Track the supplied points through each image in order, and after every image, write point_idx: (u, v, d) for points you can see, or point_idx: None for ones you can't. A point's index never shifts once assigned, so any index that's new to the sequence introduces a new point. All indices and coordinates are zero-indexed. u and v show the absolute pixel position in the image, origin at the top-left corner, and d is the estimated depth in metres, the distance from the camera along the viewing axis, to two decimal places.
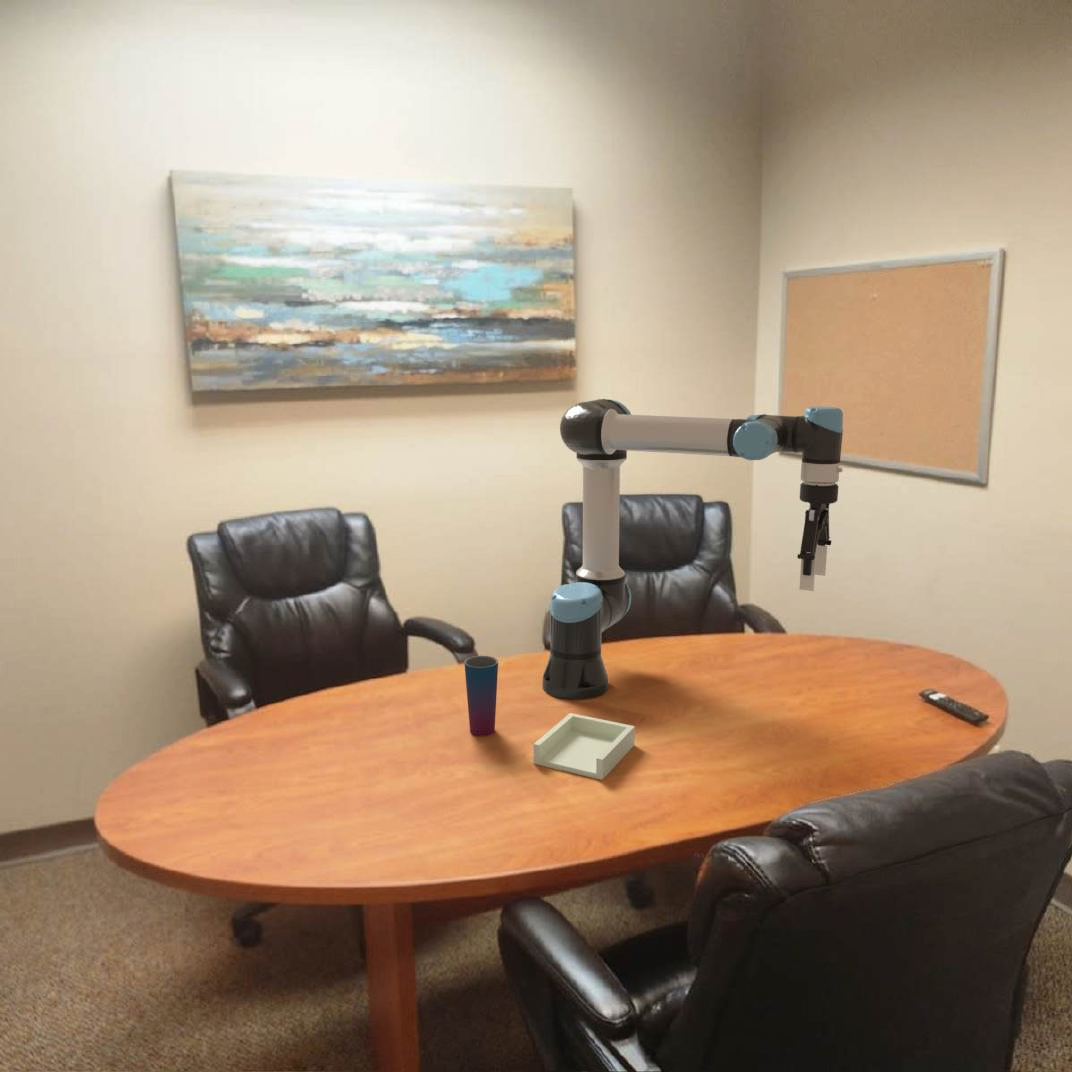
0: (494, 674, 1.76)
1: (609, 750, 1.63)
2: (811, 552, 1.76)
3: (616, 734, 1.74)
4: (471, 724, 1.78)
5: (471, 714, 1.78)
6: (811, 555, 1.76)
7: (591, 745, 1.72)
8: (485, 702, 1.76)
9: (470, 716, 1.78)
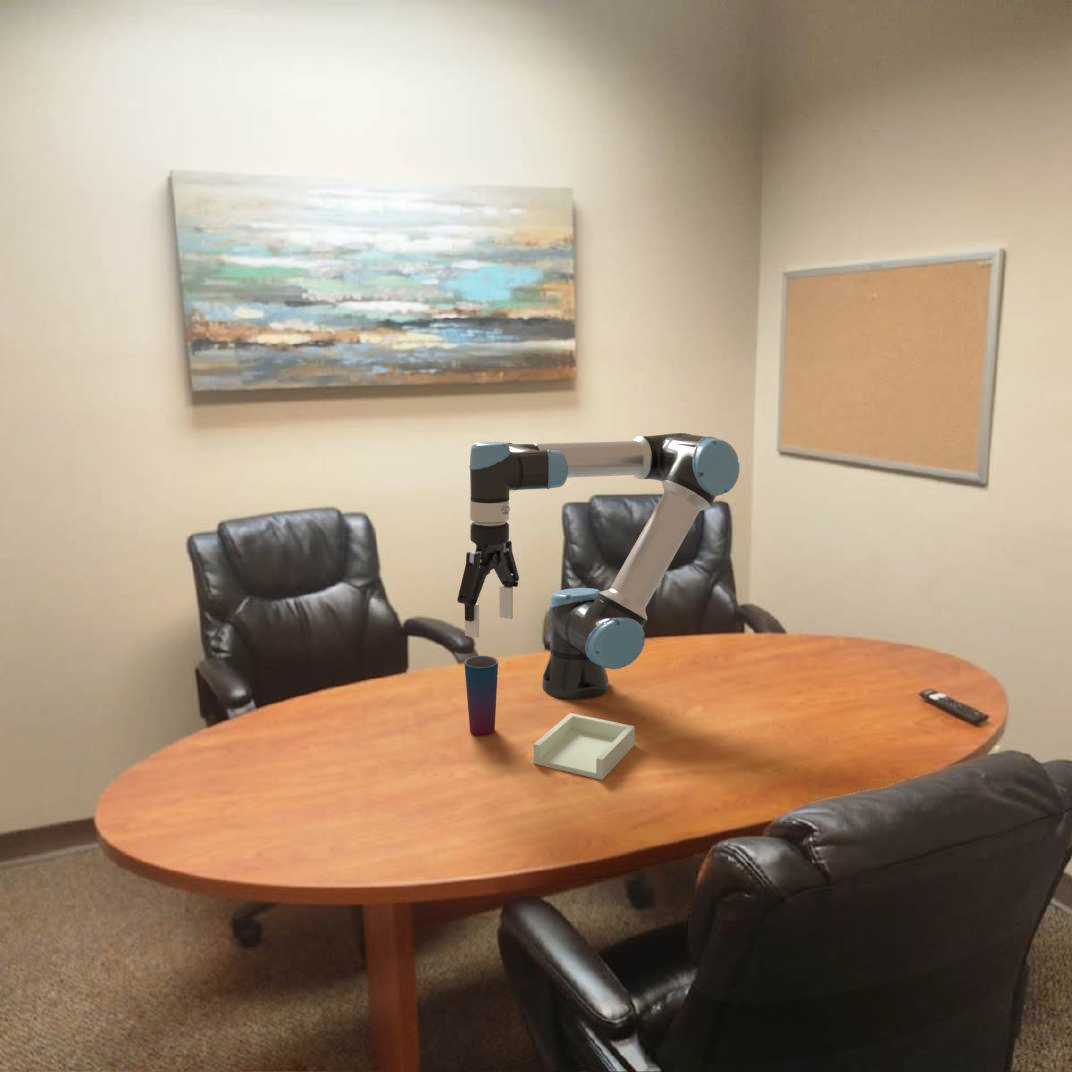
0: (494, 674, 1.76)
1: (609, 750, 1.63)
2: (468, 597, 1.65)
3: (616, 734, 1.74)
4: (471, 724, 1.78)
5: (471, 714, 1.78)
6: (467, 600, 1.65)
7: (591, 745, 1.72)
8: (485, 702, 1.76)
9: (470, 716, 1.78)
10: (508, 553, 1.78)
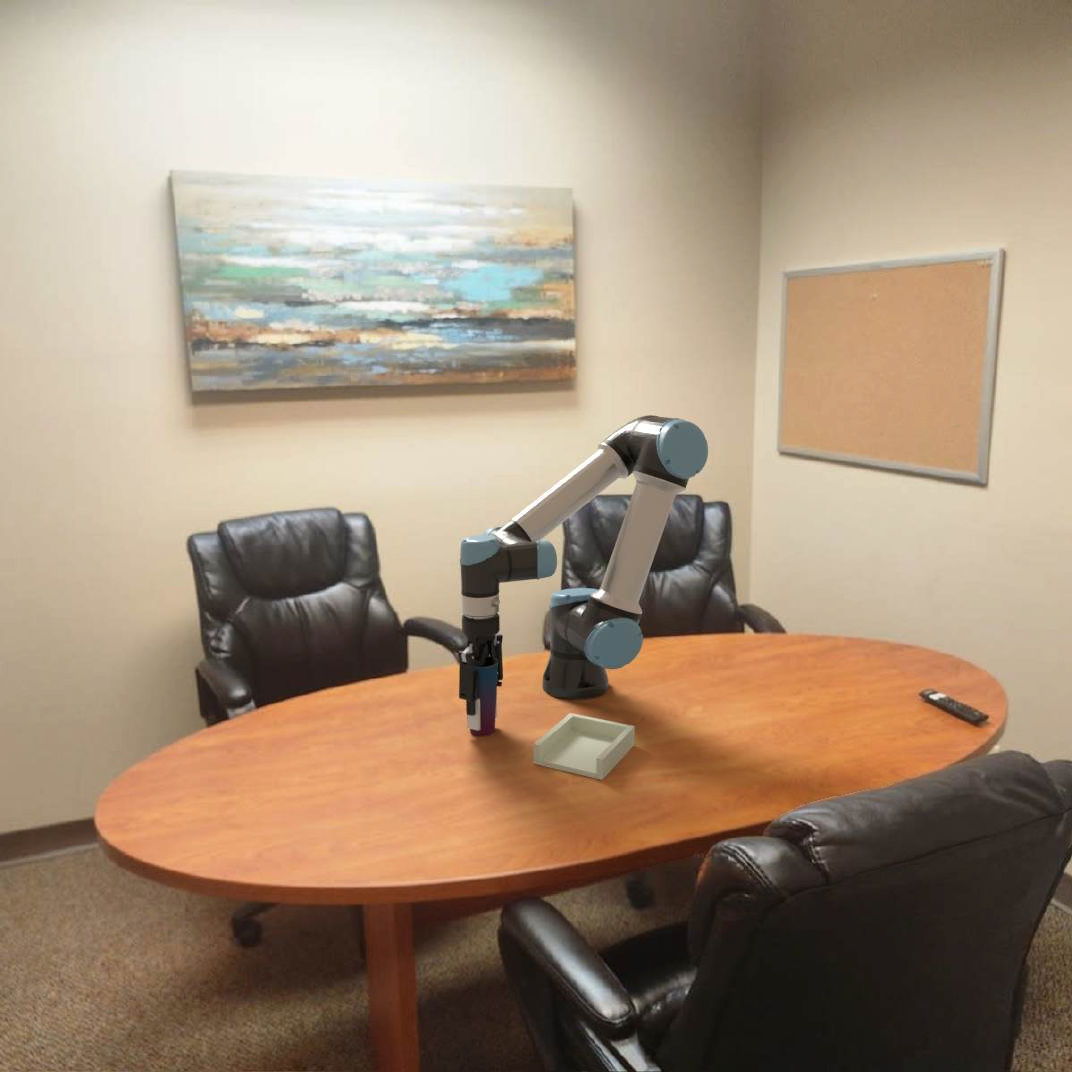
0: (494, 674, 1.76)
1: (609, 750, 1.63)
2: (468, 695, 1.72)
3: (616, 734, 1.74)
4: None
5: None
6: (469, 698, 1.72)
7: (591, 745, 1.72)
8: (485, 702, 1.76)
9: None
10: (497, 646, 1.81)
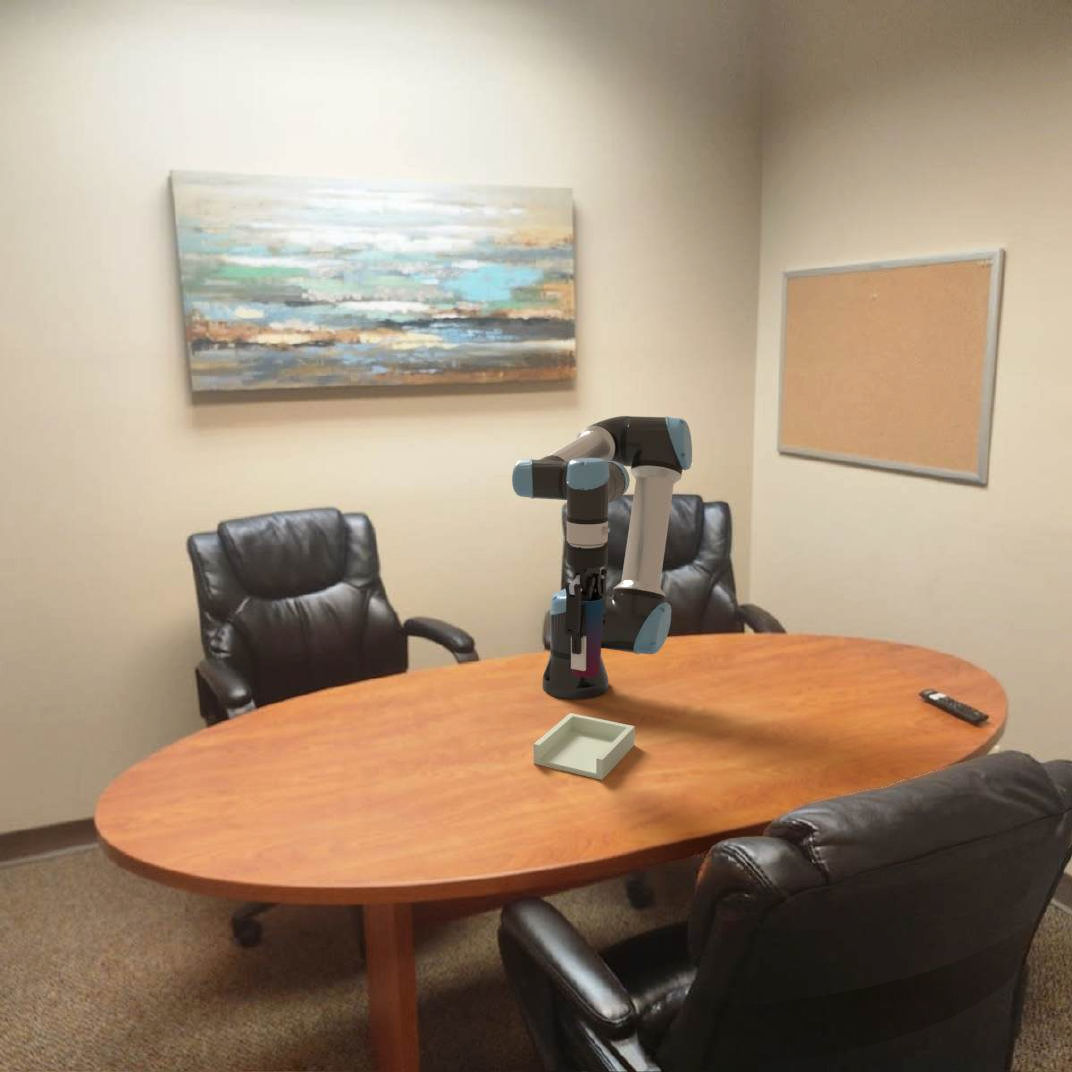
0: (601, 609, 1.62)
1: (609, 750, 1.63)
2: (576, 631, 1.58)
3: (616, 734, 1.74)
4: None
5: None
6: (576, 634, 1.58)
7: (591, 745, 1.72)
8: (591, 640, 1.62)
9: None
10: (602, 581, 1.67)
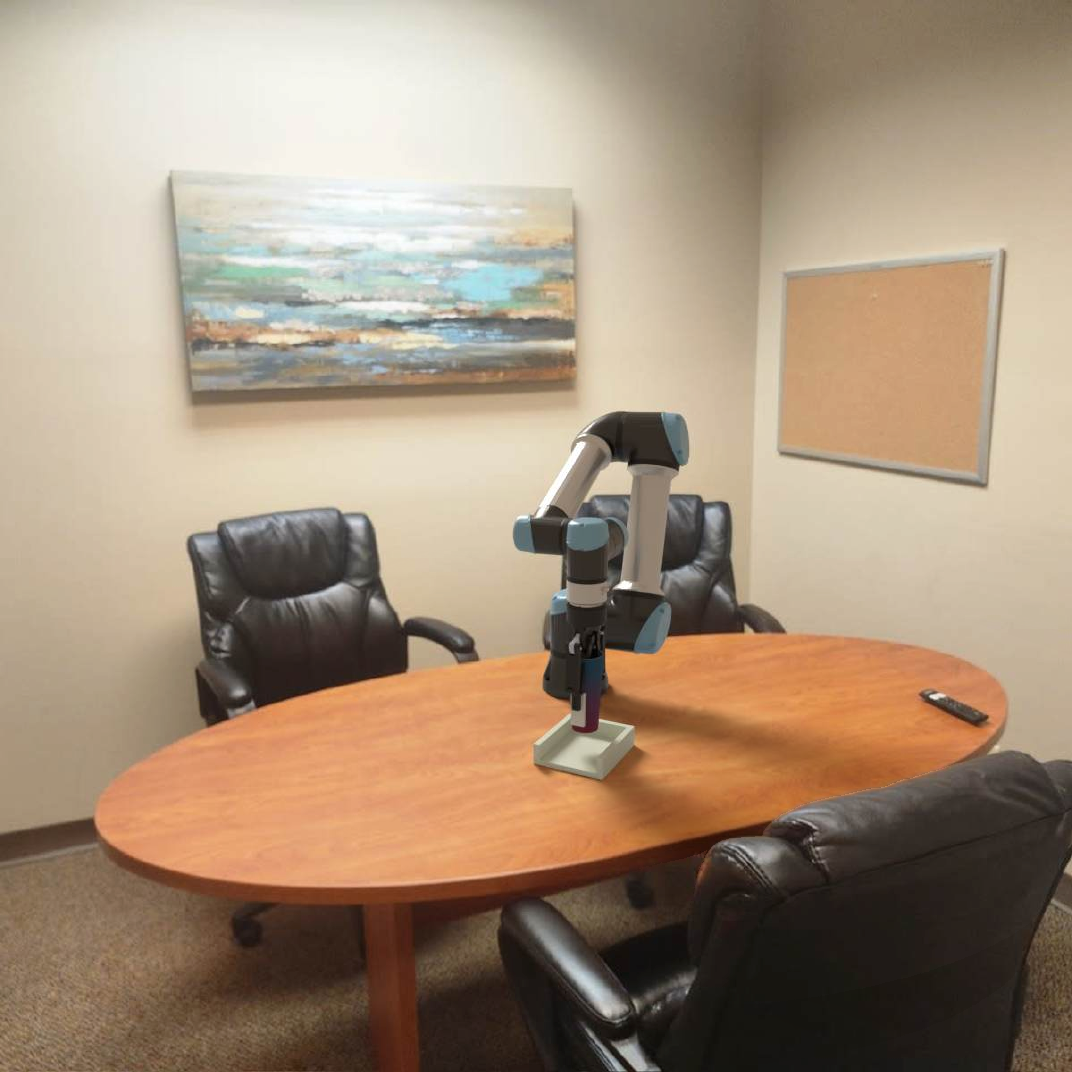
0: (600, 666, 1.64)
1: (609, 750, 1.63)
2: (575, 689, 1.60)
3: (616, 734, 1.74)
4: None
5: None
6: (576, 692, 1.61)
7: (591, 745, 1.72)
8: (591, 697, 1.65)
9: None
10: (601, 637, 1.69)
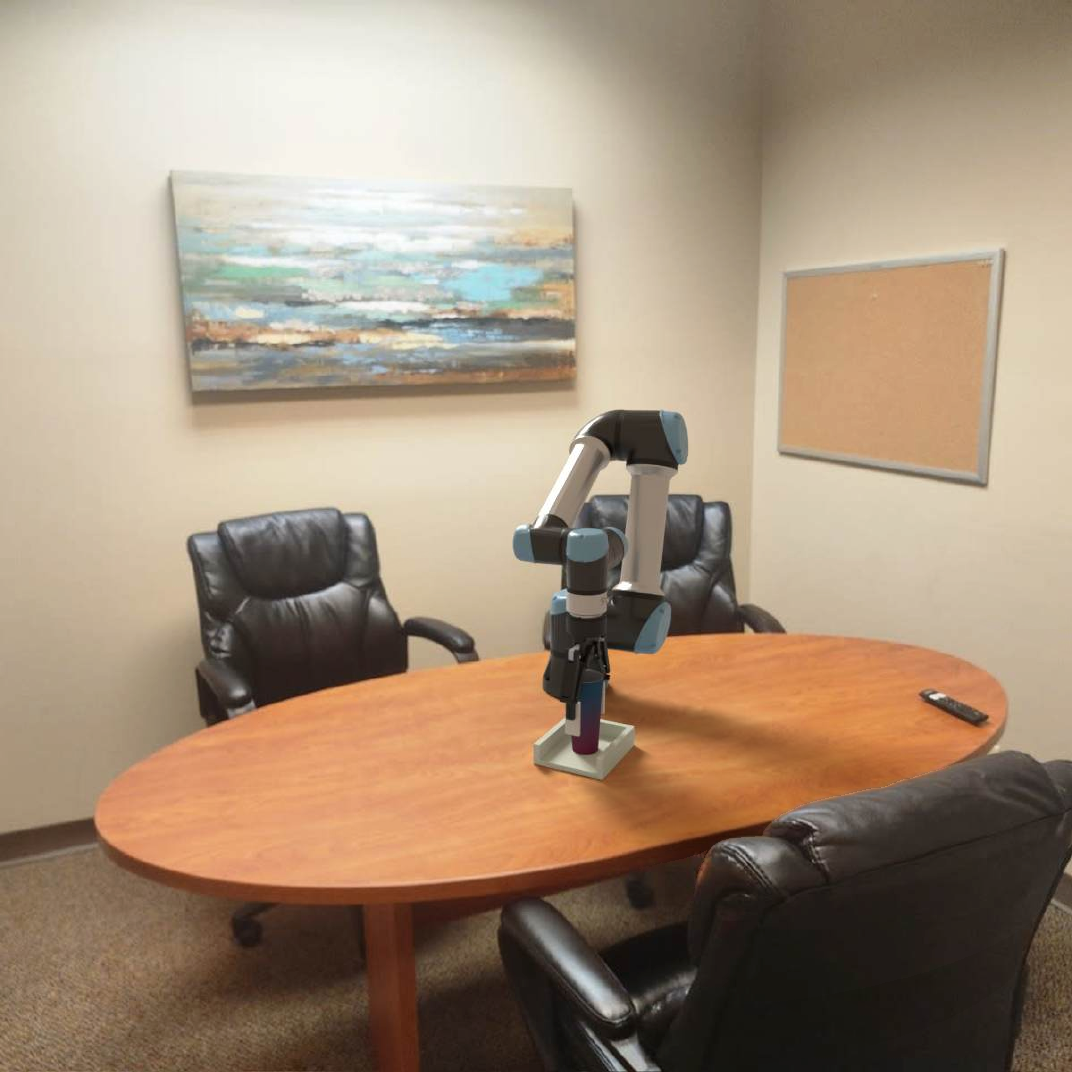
0: (600, 689, 1.65)
1: (609, 750, 1.63)
2: (570, 697, 1.59)
3: (616, 734, 1.74)
4: (574, 742, 1.68)
5: None
6: (570, 701, 1.59)
7: None
8: (590, 719, 1.66)
9: None
10: (602, 643, 1.70)
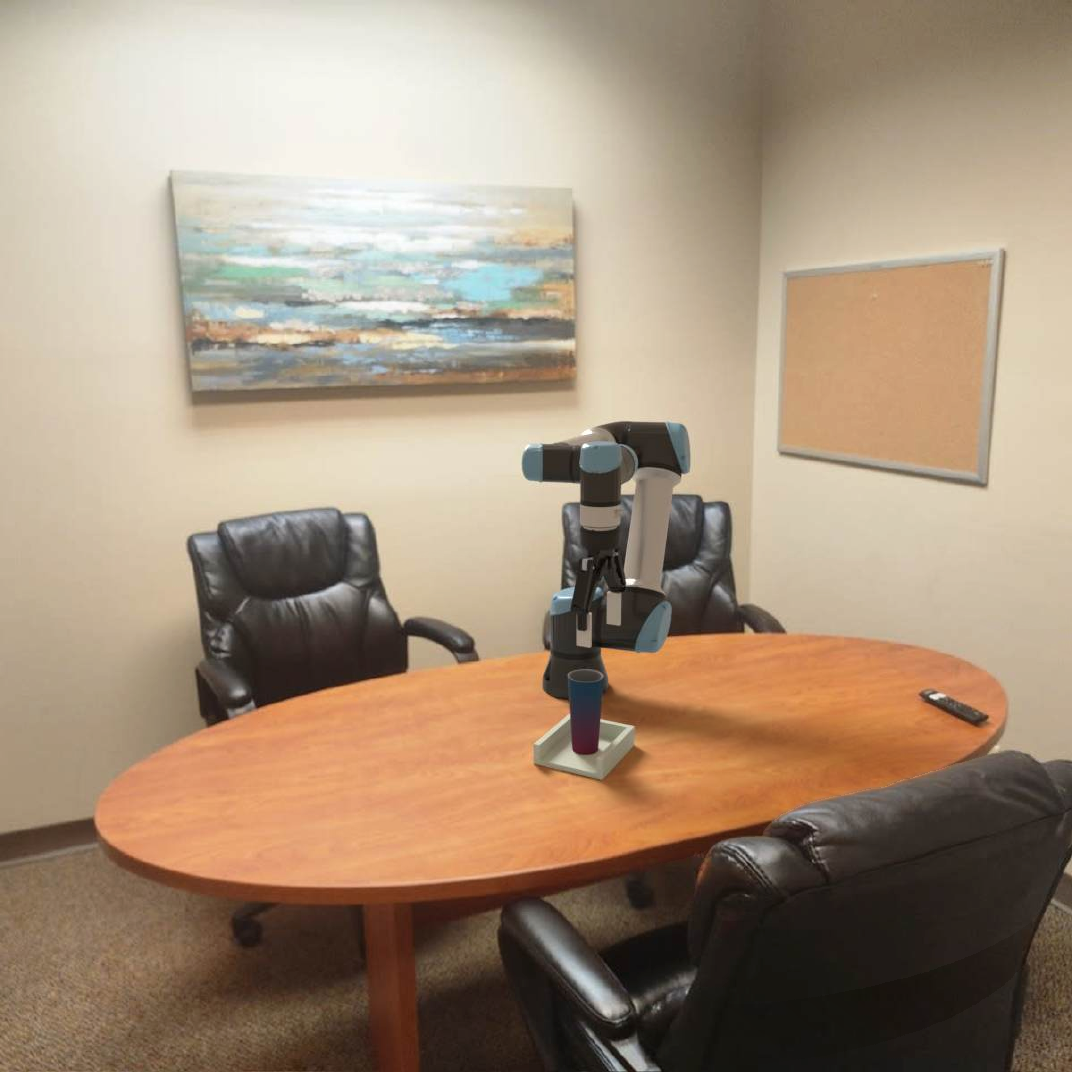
0: (600, 689, 1.65)
1: (609, 750, 1.63)
2: (582, 606, 1.57)
3: (616, 734, 1.74)
4: (574, 742, 1.68)
5: (575, 731, 1.67)
6: (581, 610, 1.57)
7: None
8: (590, 719, 1.66)
9: (573, 734, 1.68)
10: (616, 557, 1.70)
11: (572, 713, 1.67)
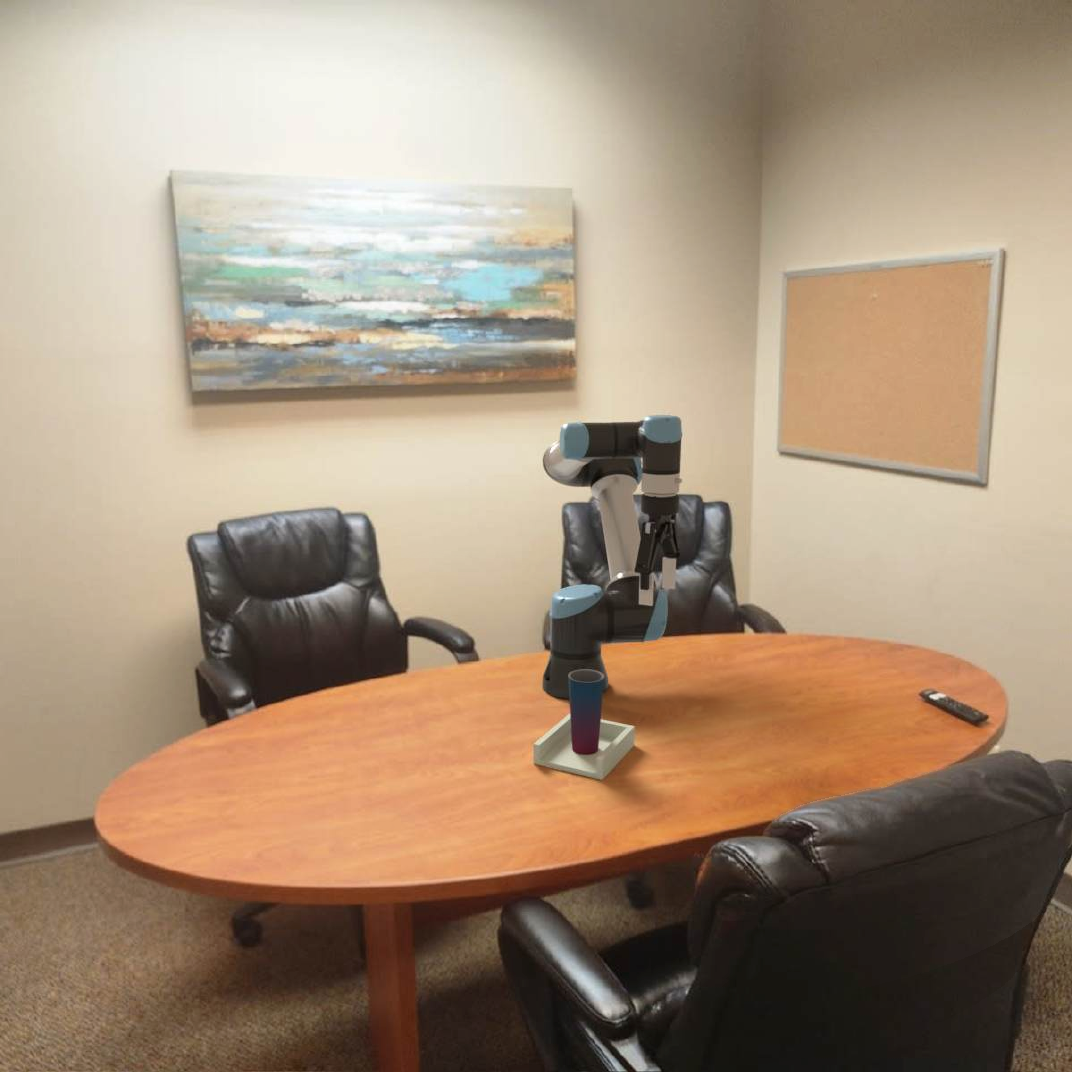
0: (600, 689, 1.65)
1: (609, 750, 1.63)
2: (646, 566, 1.70)
3: (616, 734, 1.74)
4: (574, 742, 1.68)
5: (575, 732, 1.67)
6: (646, 569, 1.70)
7: None
8: (591, 719, 1.66)
9: (573, 734, 1.68)
10: (673, 524, 1.82)
11: (572, 713, 1.67)
